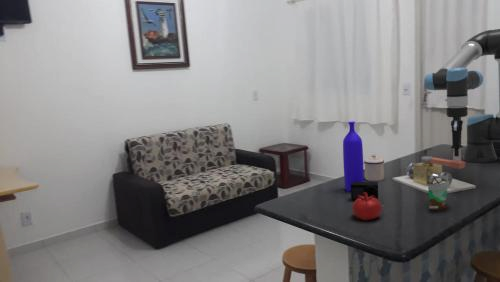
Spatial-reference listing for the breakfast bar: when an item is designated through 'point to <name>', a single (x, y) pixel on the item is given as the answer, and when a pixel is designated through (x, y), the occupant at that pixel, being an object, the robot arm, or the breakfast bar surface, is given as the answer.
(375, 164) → the teacup with lid
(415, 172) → the valve body
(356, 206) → the pomegranate
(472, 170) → the breakfast bar surface
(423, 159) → the lever
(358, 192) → the digital camera
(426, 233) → the breakfast bar surface
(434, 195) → the food container
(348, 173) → the bottle
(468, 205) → the breakfast bar surface
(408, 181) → the mounting board
